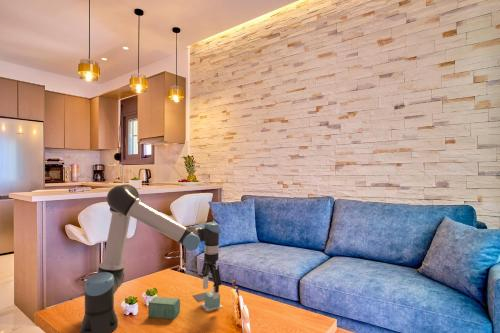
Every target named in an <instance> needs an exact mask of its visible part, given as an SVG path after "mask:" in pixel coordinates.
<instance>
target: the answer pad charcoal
mask: <svg viewBox="0 0 500 333" xmlns="http://www.w3.org/2000/svg"><path fill="white" fill-rule="evenodd" d="M206 292H207V291H205V292H202V293H197V294H192V297H193V298H194V300H195V301H196V302H197V303H200V302H205V293H206Z"/></svg>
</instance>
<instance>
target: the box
mask: <svg viewBox="0 0 500 333" xmlns="http://www.w3.org/2000/svg"><path fill="white" fill-rule="evenodd" d="M180 310H181V300H180V298H176V297H164V296H155V297H153V298H152V299H151V300H149V301H148V312H147V313H148V318H153V319H165V320H175V318H176V317H177V316H178V315H179V313H180V312H181V311H180Z"/></svg>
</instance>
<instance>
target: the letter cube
mask: <svg viewBox="0 0 500 333" xmlns="http://www.w3.org/2000/svg"><path fill="white" fill-rule="evenodd" d="M205 292H206V293H205ZM205 292H204V293H205V301H204V303H205V305H206V306H207V307H208V308H209V309H210V308H214V307H218V306H220V304H221V294H220V293H219V298H216V299H213V290H211V291H205Z"/></svg>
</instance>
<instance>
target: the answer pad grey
mask: <svg viewBox="0 0 500 333" xmlns="http://www.w3.org/2000/svg"><path fill="white" fill-rule="evenodd" d="M199 305H200V306H201V307H202V308H203V310H205V311H206V312H210V311H213V310H219V309H220V308H224V306H223V305H222V304H221V303H220V306H218V307H214V308H210V309H209V308H208V307H207V306H206V305H205V302H203V303H199Z"/></svg>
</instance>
